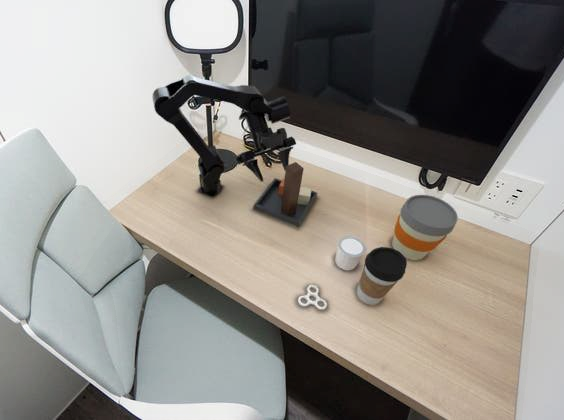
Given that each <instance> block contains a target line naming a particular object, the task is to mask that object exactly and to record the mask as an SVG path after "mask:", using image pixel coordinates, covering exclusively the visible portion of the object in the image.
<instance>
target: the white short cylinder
mask: <svg viewBox="0 0 564 420" xmlns="http://www.w3.org/2000/svg"><path fill="white" fill-rule="evenodd" d="M365 252H366V245H365V244H364V243H363V242H362V241H361V240H360V239H359V238H357V237H354V236H344V237H342V238H340V239H339V241H338V243H337V248H336V253H335V257H334V258H335V259H334V260H335V262H334V263H335V264H336V266H337V267H338V268H339V269H341V270H344V271H352V270H354V269H355V268H356V267H357V265H358V264H359V262H360V261H361V259H362V257H363V256H364V254H365Z"/></svg>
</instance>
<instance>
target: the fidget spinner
mask: <svg viewBox="0 0 564 420" xmlns="http://www.w3.org/2000/svg"><path fill="white" fill-rule="evenodd" d="M312 288H313V289H314V290H315V292H314V291H313V292H312V291H311V289H312ZM306 291H307V294H305V295H300V296H299V297H298V299H297V302H298V304H299V305H300V306H301V307H308V306H310V305H313V306H315V308H317V309H318V310H320V311H324V310H325V309H327V307H328V303H327V301H326V300H325V299H324V298H321V297H320V295H319V291H320V289H319V288H318V286H317V285H315V284H310V285H308V286H307V288H306ZM310 297H314V298H315V300H312V299H311V298H310ZM302 299H304V300H306V303H303V302H302ZM318 302H321V303H323V306H320V305H319V304H318Z"/></svg>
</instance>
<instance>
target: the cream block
mask: <svg viewBox="0 0 564 420" xmlns="http://www.w3.org/2000/svg"><path fill="white" fill-rule="evenodd" d="M311 191H313V190H312V188H310V187H305V186H301V187H300V193H299V198H298V204H303V205H308V203H309V201H310V196H311Z"/></svg>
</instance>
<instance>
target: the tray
mask: <svg viewBox="0 0 564 420" xmlns="http://www.w3.org/2000/svg"><path fill="white" fill-rule="evenodd" d="M282 180H283V179H279V178H276V177H274V178H273V180H272V181H271V182H270V184H269V185H268V186H267V188H266V189H265V190H264V191H263V192H262V194H261V195H260V197H258V199H257V200H256V201H255V203H254V204H253V210H254V211H256V212H260V213H262V214H264V215H267V216H270V217H272V218H275V219H277V220H280V221H282V222H285V223H288V224H290V225H292V226H296V227H297V228H299V227H300V225H301V224H302V222H303V221H304V219H305V217H306V216H307V214H308V212H309V210H310V209H311V207H312V206H313V204H314V202H315V201H316V199H317V197H318V192H317V191H314V190H311V196H310V201H309V203H308V205H303V204H297V210H296V214H294V215H292V216H290V217H289V216H287V215H284V214H283V213H282V212H281V204H282V195H278V193H279V185H280V184H281V182H282Z"/></svg>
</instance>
